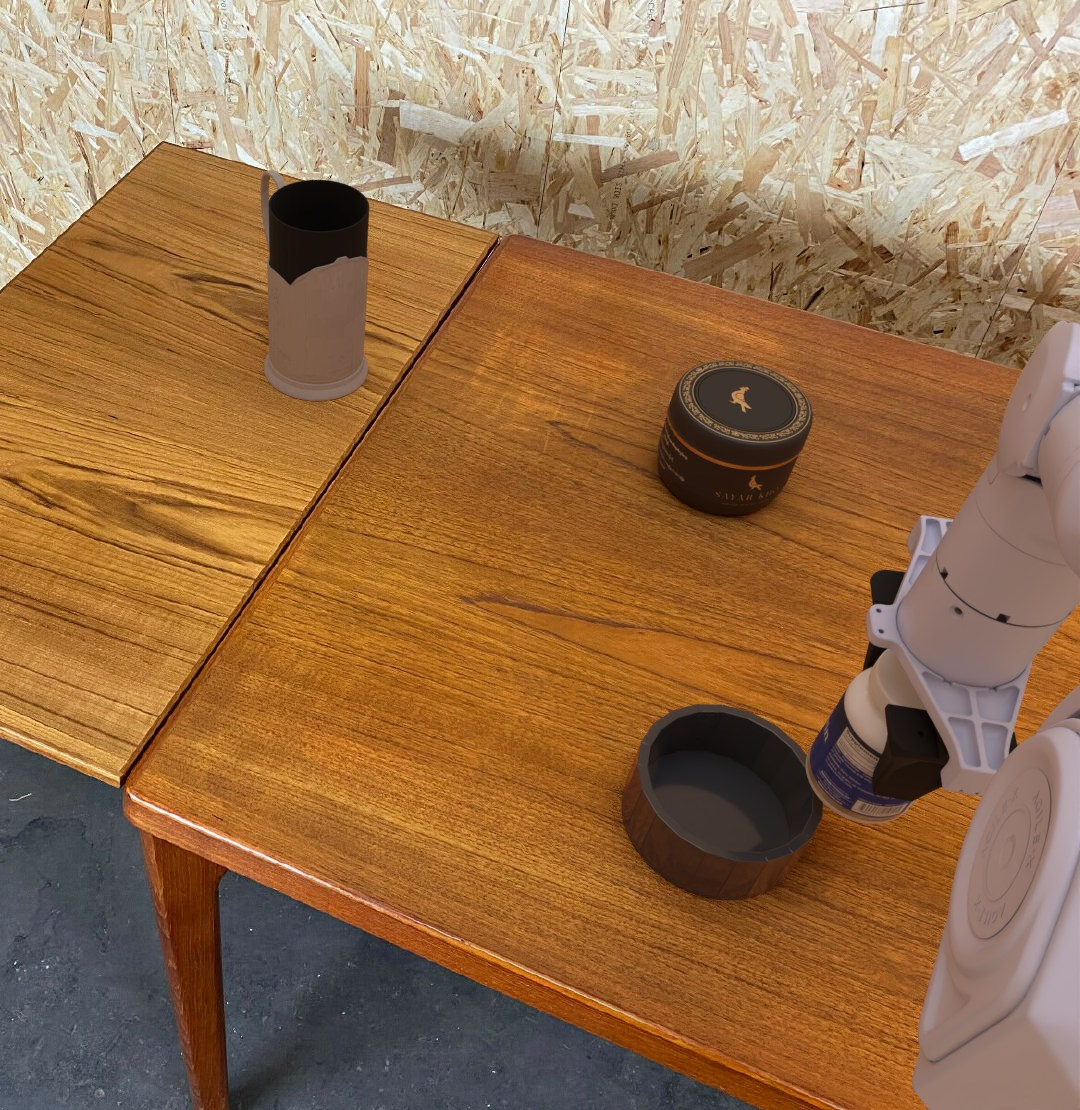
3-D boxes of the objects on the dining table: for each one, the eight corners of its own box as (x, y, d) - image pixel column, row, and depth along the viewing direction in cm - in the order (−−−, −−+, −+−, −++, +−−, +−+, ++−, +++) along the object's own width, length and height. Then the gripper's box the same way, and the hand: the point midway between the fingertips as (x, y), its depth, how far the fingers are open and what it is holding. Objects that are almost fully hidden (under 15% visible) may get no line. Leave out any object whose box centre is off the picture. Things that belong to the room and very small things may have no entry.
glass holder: (291, 412, 91) (291, 248, 80) (220, 317, 100) (211, 157, 89) (387, 383, 94) (399, 220, 83) (310, 293, 103) (312, 134, 92)
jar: (680, 530, 84) (708, 452, 78) (630, 441, 90) (653, 363, 85) (805, 514, 85) (841, 437, 80) (747, 427, 92) (777, 350, 86)
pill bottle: (841, 716, 65) (909, 612, 57) (931, 785, 62) (1015, 685, 55) (781, 775, 63) (843, 674, 55) (871, 849, 60) (950, 753, 52)
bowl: (832, 871, 65) (861, 832, 62) (675, 922, 63) (696, 884, 60) (737, 729, 72) (758, 686, 68) (591, 769, 69) (606, 727, 66)
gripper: (891, 442, 54) (800, 614, 64) (928, 699, 45) (815, 851, 55) (1049, 464, 53) (931, 635, 63) (1120, 731, 44) (968, 879, 54)
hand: (886, 737), depth 59 cm, fingers closed on pill bottle, 6 cm apart
